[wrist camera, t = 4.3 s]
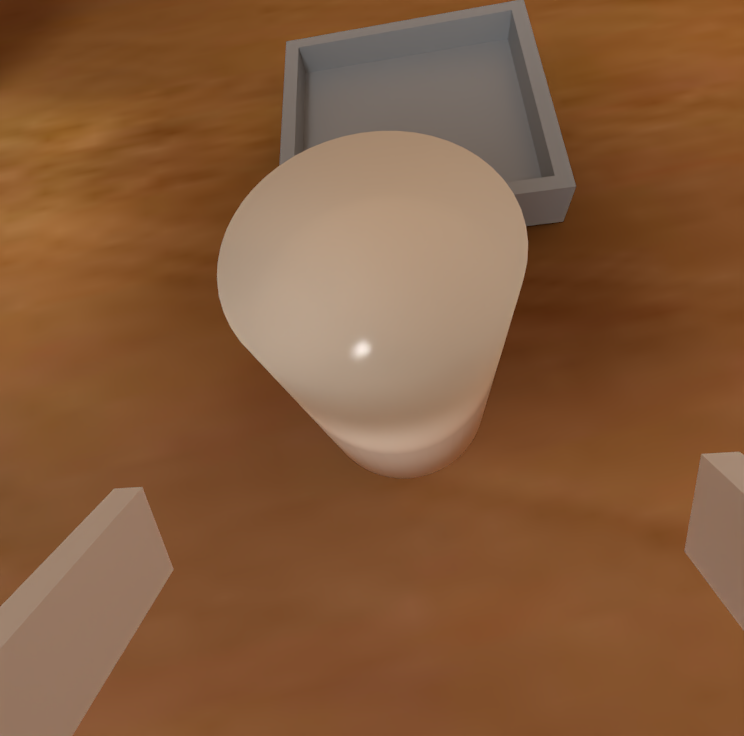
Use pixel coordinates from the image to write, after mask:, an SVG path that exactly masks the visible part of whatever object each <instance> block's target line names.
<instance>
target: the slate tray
mask: <svg viewBox="0 0 744 736" xmlns="http://www.w3.org/2000/svg"><path fill="white" fill-rule="evenodd" d="M373 131H405V132H415V133H420V134H425V135H430V136H434V137H437V138H440V139H444V140H447V141H450V142H452V143H454V144H456V145H459V146H461V147H463V148H465V149H467V150H468V151H470V152H472V153H473V154H475V155H477V156H478V157H480V158H481V159H482V160H484V161H485V162H486V163H487V164H489V165H490V166H491V167H492V168H493V169H494V170H495V171H496V172H497V173H498V174H499V175H500V176H501V177H502V178H503V179H504V181H505V182H506V183H507V185H508V186H509V188H510V189H511V190H512V192H513V193H514V195H515V197H516V199H517V201H518V204H519V206H520V208H521V210H522V214H523V217H524V220H525V224H526V226H531V225H539V224H547V223H555V222H563V221H564V218H565V215H566V213H567V210H568V207H569V205H570V202H571V199H572V196H573V194H574V191H575V188H576V184H575V181H574V177H573V173H572V170H571V166H570V163H569V159H568V156H567V152H566V149H565V145H564V141H563V138H562V134H561V131H560V127H559V124H558V120H557V117H556V113H555V109H554V106H553V102H552V99H551V95H550V92H549V88H548V85H547V81H546V77H545V74H544V70H543V67H542V63H541V60H540V56H539V53H538V49H537V46H536V42H535V38H534V35H533V31H532V28H531V24H530V21H529V17H528V14H527V10H526V6H525V3H524V0H516V1H511V2H505V3H500V4H494V5H488V6H483V7H477V8H472V9H466V10H460V11H455V12H449V13H444V14H438V15H432V16H427V17H421V18H416V19H410V20H404V21H399V22H393V23H388V24H382V25H376V26H371V27H365V28H360V29H354V30H348V31H343V32H337V33H331V34H326V35H320V36H315V37H309V38H303V39H298V40H292V41H287V42H286V56H285V74H284V92H283V110H282V128H281V146H280V164H279V166H280V165H281V164H283V163H284V162H286V161H287V160H289V159H290V158H292V157H294V156H295V155H297V154H299V153H301V152H303V151H305V150H307V149H309V148H311V147H314V146H316V145H319V144H321V143H324V142H326V141H329V140H333V139H336V138H339V137H343V136H347V135H352V134H358V133H364V132H373Z"/></svg>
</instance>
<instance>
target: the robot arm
mask: <svg viewBox="0 0 744 736" xmlns="http://www.w3.org/2000/svg"><path fill="white" fill-rule="evenodd" d="M685 553H686V554H687V555H688V557H689V558H690V559H691V561H692V562H693V563H694V565H695V566H696V567H697V569H698V570H699V571H700V573H701V574H702V575H703V577H704V578H705V580H706V581H707V582H708V584H709V585H710V586H711V588H712V589H713V590H714V592H715V593H716V594H717V596H718V597H719V598H720V600H721V601H722V602H723V604H724V605H725V606H726V608H727V609H728V610H729V612H730V613H731V614H732V616H733V617H734V618H735V620H736V621H737V622H738V624H739V625H740V626H741V628H742V629H743V630H744V455H743V454H741V453H740V452H727V453H710V454H701V458H700V464H699V470H698V476H697V482H696V487H695V493H694V499H693V505H692V511H691V516H690V522H689V528H688V534H687V540H686V545H685ZM173 570H174V569H173V567H172V564H171V562H170V559H169V556H168V554H167V551H166V548H165V546H164V543H163V540H162V538H161V535H160V533H159V530H158V527H157V525H156V522H155V519H154V517H153V514H152V511H151V509H150V506H149V504H148V501H147V498H146V496H145V493H144V490H143V488H142V487H134V488H117V489H113V490H112V491H111V493H110V494H109V495H108V496H107V497H106V498H105V499H104V500H103V501H102V502H101V503H100V504H99V505H98V506H97V507H96V508H95V509H94V510H93V511H92V512H91V513H90V514H89V515H88V516H87V517H86V518H85V519H84V521H83V522H82V523H81V524H80V525H79V526H78V527H77V528H76V529H75V530H74V531H73V532H72V533H71V534H70V535H69V536H68V537H67V538H66V539H65V540H64V541H63V542H62V543H61V544H60V545H59V546H58V547H57V549H56V550H55V551H54V552H53V553H52V554H51V555H50V556H49V557H48V558H47V559H46V560H45V561H44V562H43V563H42V564H41V565H40V566H39V567H38V568H37V569H36V570H35V571H34V572H33V573H32V574H31V575H30V576H29V578H28V579H27V580H26V581H25V582H24V583H23V584H22V585H21V586H20V587H19V588H18V589H17V590H16V591H15V592H14V593H13V594H12V595H11V596H10V597H9V598H8V599H7V600H6V601H5V602H4V603H3V604H2V606H1V607H0V736H72V735H73V734H74V732H75V730H76V729H77V727H78V725H79V724H80V722H81V720H82V719H83V717H84V716H85V714H86V712H87V711H88V709H89V707H90V706H91V704H92V702H93V701H94V699H95V698H96V696H97V694H98V693H99V691H100V689H101V688H102V686H103V684H104V683H105V681H106V679H107V678H108V676H109V675H110V673H111V671H112V670H113V668H114V666H115V665H116V663H117V661H118V660H119V658H120V657H121V655H122V653H123V652H124V650H125V648H126V647H127V645H128V643H129V642H130V640H131V638H132V637H133V635H134V634H135V632H136V630H137V629H138V627H139V625H140V624H141V622H142V620H143V619H144V617H145V615H146V614H147V612H148V611H149V609H150V607H151V606H152V604H153V602H154V601H155V599H156V597H157V596H158V594H159V593H160V591H161V589H162V588H163V586H164V584H165V583H166V581H167V579H168V578H169V576H170V574H171V573H172V571H173Z"/></svg>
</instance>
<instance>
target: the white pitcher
mask: <svg viewBox="0 0 744 736" xmlns="http://www.w3.org/2000/svg"><path fill="white" fill-rule="evenodd" d="M527 259H528V237H527V230H526V224H525V220H524V217H523V214H522V210H521V208H520V206H519V204H518V201H517V199H516V197H515V195H514V193H513V192H512V190H511V189H510V188H509V186H508V185H507V183H506V182H505V181H504V179H503V178H502V177H501V176H500V175H499V174H498V173H497V172H496V171H495V170H494V169H493V168H492V167H491V166H490V165H489V164H487V163H486V162H485V161H484V160H482V159H481V158H480V157H478V156H477V155H475V154H473V153H472V152H470V151H468V150H467V149H465V148H463V147H461V146H459V145H456V144H454V143H452V142H450V141H447V140H444V139H440V138H437V137H434V136H430V135H425V134H420V133H415V132H405V131H373V132H364V133H358V134H352V135H347V136H343V137H339V138H336V139H333V140H329V141H326V142H324V143H321V144H319V145H316V146H314V147H311V148H309V149H307V150H305V151H303V152H301V153H299V154H297V155H295V156H294V157H292V158H290V159H289V160H287V161H286V162H284V163H283V164H281V165H280V166H278V167H277V168H276V169H274V170H273V171H272V172H271V173H269V174H268V175H267V176H266V177H265V178H264V179H263V180H262V181H260V182H259V183H258V184H257V185H256V186H255V187H254V188H253V189H252V191H251V192H250V193H249V194H248V196H247V197H246V198H245V199H244V200H243V202H242V203H241V205H240V206H239V208H238V209H237V211H236V212H235V214H234V215H233V217H232V219H231V221H230V223H229V226H228V228H227V230H226V232H225V235H224V238H223V241H222V244H221V247H220V252H219V258H218V265H217V284H218V293H219V298H220V302H221V305H222V309H223V312H224V314H225V316H226V319H227V321H228V323H229V325H230V327H231V329H232V330H233V332H234V333H235V335H236V336H237V337H238V339H239V340H240V342H241V343H242V344H243V345H244V346H245V347H246V348H247V349H248V350H249V351H250V353H251V354H252V355H253V356H254V357H255V358H256V359H257V360H258V361H259V362H260V363H261V364H262V365H263V366H264V367H265V368H266V370H267V371H268V372H269V373H270V374H271V375H272V376H273V377H274V378H275V379H276V380H277V381H278V382H279V383H280V384H281V385H282V387H283V388H284V389H285V390H286V391H287V392H288V393H289V394H290V395H291V396H292V397H293V398H294V399H295V400H296V401H297V402H298V404H299V405H300V406H301V407H302V408H303V409H304V410H305V411H306V412H307V413H308V414H309V415H310V416H311V417H312V418H313V419H314V421H315V422H316V423H317V424H318V425H319V426H320V427H321V428H322V429H323V430H324V431H325V432H326V433H327V434H328V435H329V436H330V438H331V439H332V440H333V441H334V442H335V443H336V444H337V445H338V446H339V447H340V448H341V449H342V450H343V451H344V452H345V453H346V455H347V456H348V457H349V458H350V459H352V460H353V461H354V462H355V463H357V464H358V465H360V466H361V467H363V468H365V469H366V470H369V471H371V472H373V473H375V474H379V475H382V476H386V477H392V478H415V477H421V476H425V475H429V474H432V473H434V472H436V471H439V470H441V469H443V468H444V467H446V466H448V465H450V464H451V463H452V462H453V461H455V460H456V459H457V458H459V456H460V455H461V454H462V453H463V452H464V451H465V450H466V449H467V448H468V446H469V445H470V444H471V442H472V441H473V439H474V437H475V435H476V433H477V431H478V428H479V426H480V423H481V420H482V416H483V413H484V410H485V406H486V403H487V400H488V396H489V393H490V390H491V386H492V383H493V380H494V376H495V373H496V370H497V366H498V363H499V360H500V356H501V353H502V350H503V346H504V343H505V340H506V336H507V333H508V330H509V326H510V323H511V320H512V316H513V313H514V309H515V306H516V303H517V299H518V296H519V293H520V289H521V286H522V283H523V279H524V275H525V270H526V265H527Z"/></svg>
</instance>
